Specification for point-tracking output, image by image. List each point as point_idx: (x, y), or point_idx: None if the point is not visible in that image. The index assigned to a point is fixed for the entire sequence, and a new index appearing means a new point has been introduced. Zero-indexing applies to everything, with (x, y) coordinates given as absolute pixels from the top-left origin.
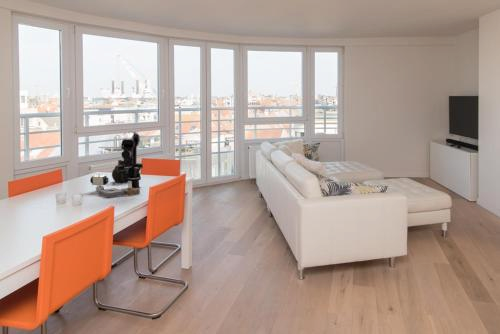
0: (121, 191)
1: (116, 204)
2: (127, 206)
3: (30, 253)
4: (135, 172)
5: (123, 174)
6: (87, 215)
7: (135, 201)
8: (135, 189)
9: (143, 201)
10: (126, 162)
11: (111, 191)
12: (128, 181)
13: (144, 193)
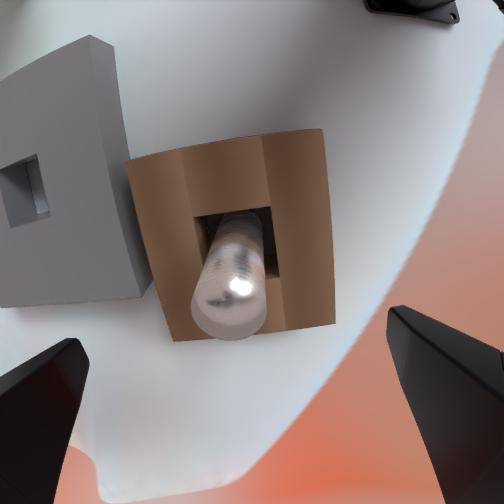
0: (108, 299)
1: (81, 445)
2: (131, 486)
3: None
4: (462, 433)
5: (38, 484)
6: None
7: (187, 462)
8: (293, 303)
9: (229, 477)
10: None
11: (19, 239)
12: (208, 285)
13: (365, 315)
